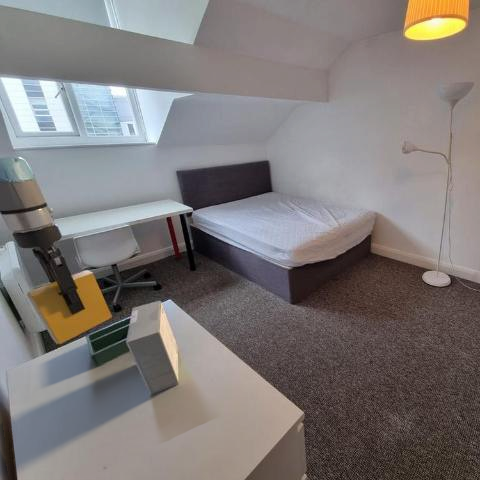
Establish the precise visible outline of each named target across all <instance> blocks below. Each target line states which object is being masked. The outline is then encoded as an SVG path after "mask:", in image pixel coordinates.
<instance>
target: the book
mask: <svg viewBox="0 0 480 480" xmlns="http://www.w3.org/2000/svg"><path fill="white" fill-rule="evenodd" d="M71 275H72V274H71ZM72 277H73V280H74V282H75V284H76V286H77V288H78V289H76V291H77V293H78V295H79V297H80V299H81V301H82V303H83V305H84V307H85V309H84V310H82V311H80V312H78V313H75V314H73V315H72V313H71V311H70V310H69V308H68V306H67V304H66V302H65V300H64V298H63V296H62V295H59V294H58V293H60V292H61V289H60V288H59V286H58V284H57V282H53V283H48V284H45V285H43V286H40V287H38V288H35V289H32V290H29V291H27V293H26V296H27V298H28V300H29V301H30V304H31V305H32V306H33V309H34V310H35V312H36V313H37V315H38V317H39V318H40V320H41V322H42V324H43V325H44V327H45V329H46V330H47V332H48V334H49V336H50V337H51V339H52V340H53V341H54V343H55V344H56V345H62V344H63V343H65V342H67V341H69V340H71V339H73V338H75V337H77V336H79V335H81V334H83V333H85V332H87V331H88V330H90V329H92V328H95V327H96V326H98V325H101V324H102V323H104V322H106V321H108V320H110V319H112V318H113V315H112V314H111V312H110V309H109V307H108V305H107V302H106V300H105V298H104V296H103V294H102V290H101V288H100V286H99V284H98V282H97V280H96V278H95V275H94V273H93V272H92V271H90V270H88V269H85V270H83V271H80V272H78V273H75V274H73V275H72Z"/></svg>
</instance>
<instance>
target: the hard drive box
mask: <svg viewBox="0 0 480 480" xmlns="http://www.w3.org/2000/svg"><path fill="white" fill-rule="evenodd" d="M131 309H132V310H131V314H130V317H131V319H130V325H129V330H128V335H127V341H126V344H127V346H128V348H129V350H130V351H129V353H130V354H131V356H132V359H133V360H134V363H135V366H136V367H137V369H138V372H139V374H140V376H141V378H142V380H143V383H144V385H145V386H146V389H147V391H148V394H149V395H150V396H151V395H154V394H157V393H159V392H162V391H164V390H167V389H169V388H171V387H175V386H177V385H179V382H180V380H179V347H178V344H177V342H176V339H175V336H174V332H173V331H172V328H171V325H170V323H169V319H168V317H167V314H166V311H165V309H164V306H163V303H162V301H161V300H156V301H153V302H150V303H146V304H141V305H139V306H135V307H132V308H131Z"/></svg>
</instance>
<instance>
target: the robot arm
mask: <svg viewBox="0 0 480 480" xmlns="http://www.w3.org/2000/svg"><path fill="white" fill-rule="evenodd" d="M51 213H54V209H53V208H51V207H50V208H49V206H48V203H47V201H46V198H45V197H44V194H43V192H42V190H41V188H40V185H39V183H38V181H37V178H36V174H35V173H34V172H33V170H32V169H31V167H30V165H29V163H28V162H27V160H26V159H25V158H23V157H20V156H5V157H4V156H3V157H0V216H1V217H2V220H3V221H4V223H5V225H6V227H7V228H8V231H11V232H12V237H13V239H14V241H15V242H16V244H17V246H18V247H19V248H21V249H31V251H32V254H33V255H34V257H35V258H36V259H37V260H38V263H39V264H40V266H41V268H42V269H43V272H44V273H45V275H46V277H47V279H48V282H49V284H51V283H53V282H57V284H58V286H59V288H60V289H61V292H60V293H58V294H59V295H62V296H63V298H64V300H65V302H66V304H67V306H68V308H69V310H70V311H71V313H72V315H73V314H75V313H78V312H80V311H82V310H84V309H85V307H84V305H83V303H82V301H81V299H80V297H79V295H78V293H77V291H76V289H78V288H77V286H76V284H75V282H74V280H73V277H72V274H71V271H70V269H69V267H68V264H67V262H66V259H65V258H66V257H65V256H64V255H62V251H61V250H60V248H59V247H57V246H56V245H54V243H56V242H58V241H60V240H61V239H62V237H63V235H62V233H61V230H60V229H59V227H58V224H56V223H54V222H55V218H54V216H53V214H51Z"/></svg>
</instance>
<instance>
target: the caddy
mask: <svg viewBox="0 0 480 480" xmlns="http://www.w3.org/2000/svg"><path fill="white" fill-rule="evenodd" d="M130 319H131V316H129V317H126V318H124V319H121V320H120V321H117V322H115V323H113V324H110V325H107V326H105V327H102V328H101V329H98V330H96V331H94V332H92V333H89V334H86V335H85V340H86V343H87V345H88V351H89V354H90V357H91V359H92V361H93V363H94V364H95V366H96V368H99V367H101V366H102V365H104V364H106V363H108V362H111V361H112V360H114V359H116V358H119V357H121V356H122V355H125V354H127V353H130V350H129V348H128V346H127V344H126V341H127V335H128V330H129V325H130ZM123 320H124V321H123Z"/></svg>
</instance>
